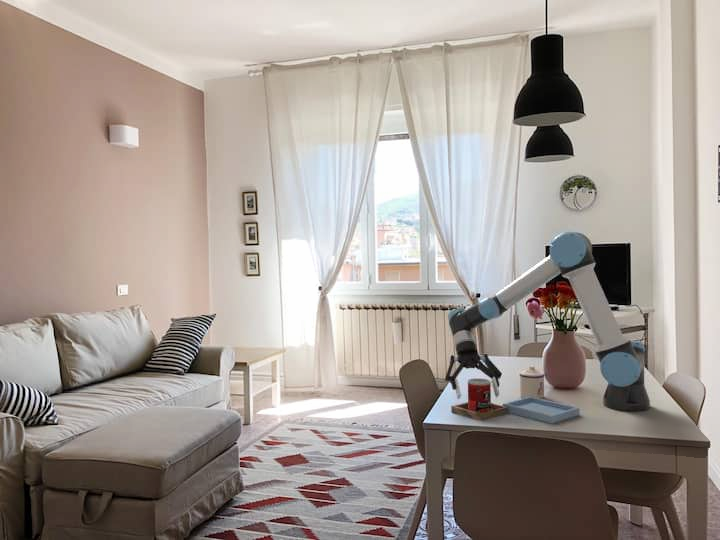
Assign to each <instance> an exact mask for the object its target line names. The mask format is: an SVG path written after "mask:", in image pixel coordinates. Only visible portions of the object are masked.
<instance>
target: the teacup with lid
mask: <svg viewBox="0 0 720 540" xmlns="http://www.w3.org/2000/svg"><path fill="white" fill-rule="evenodd" d="M545 376H546V375H545V373H544V372H542V371H541V370H538V369H537V368H535V366H533V365H529V366H528V368H527V369H525V370H522V371H520V372H519V378H520V380H519V389H520V390H519V393H520V394H519V395H520V397H521V399H523V398H526V397H534V398H539V399H544V397H545Z"/></svg>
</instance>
